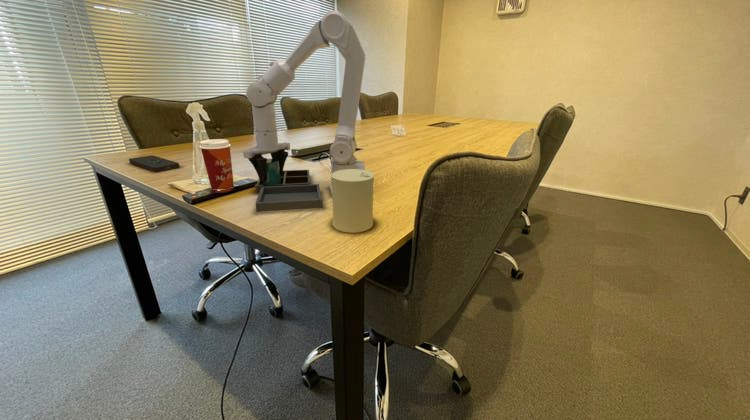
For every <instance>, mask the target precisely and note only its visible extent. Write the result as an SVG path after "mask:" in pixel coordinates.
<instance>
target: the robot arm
mask: <svg viewBox="0 0 750 420" xmlns="http://www.w3.org/2000/svg"><path fill="white" fill-rule="evenodd" d="M331 45H333V46H334V47H336V49H337V50H338V52H339V53H340V54H341V56H342V57H343V59H344V61H345V64H344V73H343V81H342V88H341V97H340V104H339V113H338V121H337V127H336V131H335V135H334V141H333V142H332V144H331V145H330V148H329V155H330V157H331V159H330V164H331V166H330V168H331V169H330V171H331V174H332V173H333V172H335V171H339V170H344V169H360V170H366V165H365V162H364V161H363V160H358V158H357V157H356V155H354V154H355V152H356V150H357V141H356V127H357V126H356V124H357V118H358V111H359V106H360V104H359V103H360V98H361V91H362V84H363V77H364V70H365V65H366V64H365V63H366V53H365V51H364V48H363V46H362V44H361V41H360V38H359V36H358V33H357V31H356V29H355V28H354V26H353V25H352V23H351V22H350V21H349V19H347V17H346V16H345V15H344V13H342V12H340V11H338V10H330V11H328V12H326V13H325V14H324V15H323V16H322V19H319V20H317V21H316V22H315V23H314V24H313V26H312V27H311V28H310V29H309V31H308V32H307V33H305V35H304V37H303V38H302V39H301V40H300V41H299V42H298V44H296V46H295V47H294V48H293V50H292V51H291V52H290V53H289V54H288V55H287V57H286V58H285V59H276V60H275V61H274V60H272V61H270V63H269V64H268V66H269V68H268V69H267V70H266V71H265V72H264V73H263V75H259V76H258V77H257V78H256V79H257V81H252V82H250V83H249V84H248V87H247V89H246V98H247V100H248V102H249V103H250V104H251V111H252V121H253V128H254V135H255V142H256V143H255V144H256V145H255V146H253V147H250V148H247V149H243V150H242V155H243V158H244V159H247V160H248V161H249V163H250V164H251V165H252V166H253V168H254V170H255V172H256V174H257V177H258V180H259V179H260V181H264V182H265V181H267V175H266V163H267V159H268V158H267V157H264V156H265V155H269V154H270V156H271V159H278V160H279V167H280V177H282V174H283V171H284V167H285V164H286V162H287V161H286V160H287V158H288V156H289V152H288V151H291V143H290V142H279V138H278V136H279V135H278V129H277V118H276V109H275V104H276V102H277V99H278V96H279V95H280V94H281V93H283V92H284V90H285V89H286V88H287V87H288V86H289V85H290V84H291V83H292V82H293V81H294V80H295V79H296V70H297V69H298V68H299V67H300V66H302V64H303V63H305V62H306V60H308V59H309V58H310V57H311V56H312V55H313V54H314V53H316V51H317V50H320V49H326V48H330V47H331ZM329 190H330V193H331V195H332V185H329Z"/></svg>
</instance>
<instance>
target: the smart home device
mask: <svg viewBox="0 0 750 420" xmlns="http://www.w3.org/2000/svg"><path fill="white" fill-rule="evenodd" d="M128 161H129V164H130V165H133V166H136V167H139V168H140V169H141V168H142V169H145V170H147V171H150V172H153V173H160V172H161V173H162V172H167V171H170V170H175V169H180V168H181V167H180V163H179V162H178V161H174V160H170V159H166V158H164V157H160V156H157V155H152V154H151V155H145V156H144V155H143V156H138V157H133V158H128Z"/></svg>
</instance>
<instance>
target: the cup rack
mask: <svg viewBox="0 0 750 420" xmlns="http://www.w3.org/2000/svg"><path fill="white" fill-rule="evenodd" d="M289 185H311V175H310V170H309V169H287V170H286V169H285V170H283V174H282V177H281V184H271V185H262V181H260V179H259V178H258V179H257V182H256V185H255V189H256V193H257V194H259V193H260V190H261V187H267V186H289Z"/></svg>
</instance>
